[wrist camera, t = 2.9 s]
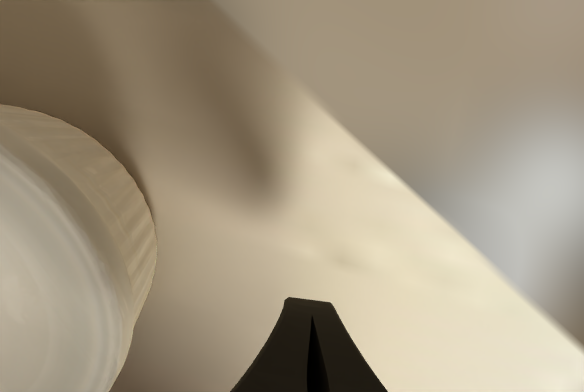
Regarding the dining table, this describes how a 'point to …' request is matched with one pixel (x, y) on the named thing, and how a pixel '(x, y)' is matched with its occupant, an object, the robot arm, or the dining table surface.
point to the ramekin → (67, 257)
